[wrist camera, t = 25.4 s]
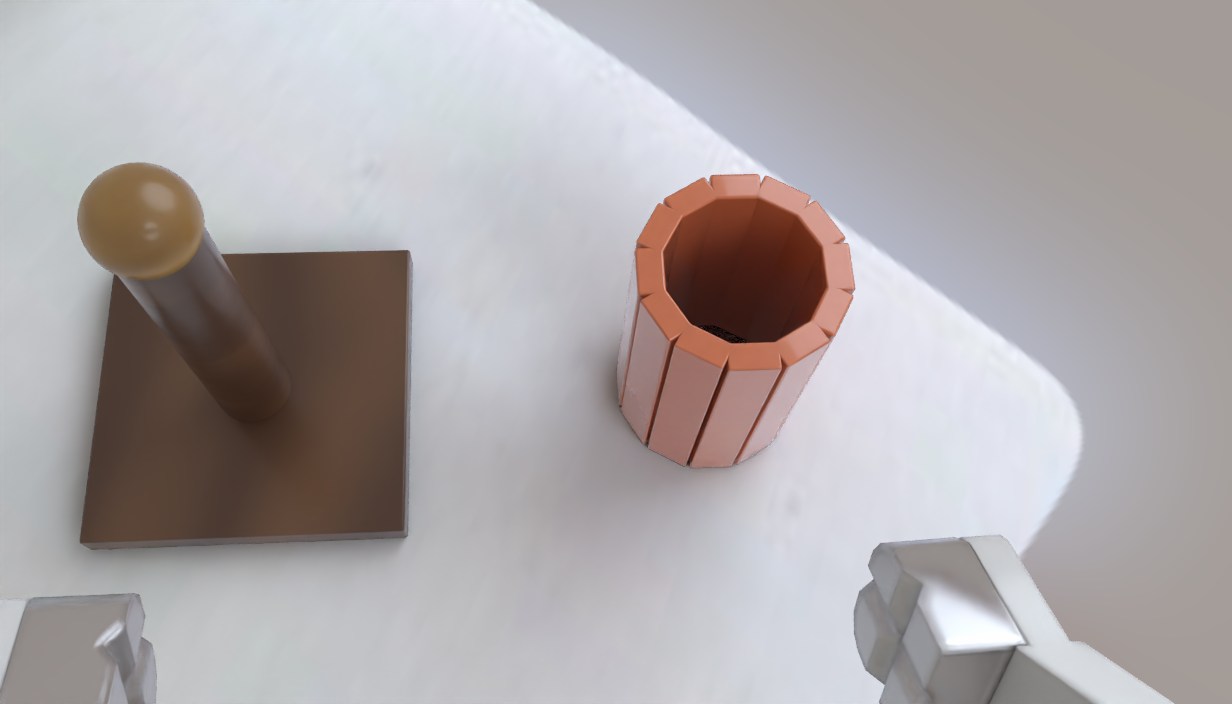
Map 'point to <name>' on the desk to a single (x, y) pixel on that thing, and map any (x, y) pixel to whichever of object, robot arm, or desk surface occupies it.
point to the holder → (241, 381)
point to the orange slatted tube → (728, 316)
